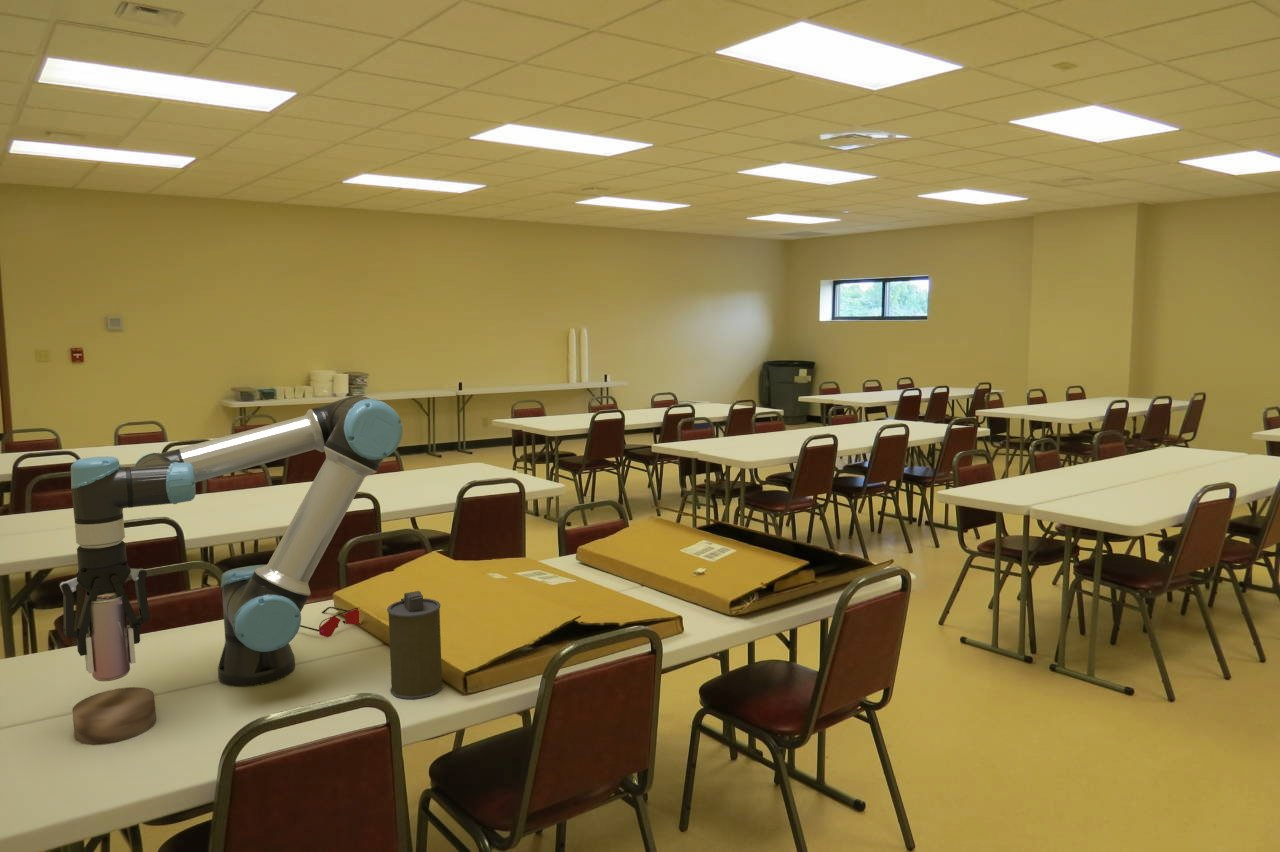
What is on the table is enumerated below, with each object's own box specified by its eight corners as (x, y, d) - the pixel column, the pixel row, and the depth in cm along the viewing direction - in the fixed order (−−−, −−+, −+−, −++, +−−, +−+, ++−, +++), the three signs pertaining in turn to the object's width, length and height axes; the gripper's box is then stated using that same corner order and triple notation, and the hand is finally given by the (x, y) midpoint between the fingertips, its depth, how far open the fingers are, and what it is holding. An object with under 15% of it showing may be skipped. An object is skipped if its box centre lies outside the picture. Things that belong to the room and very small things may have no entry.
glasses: (321, 642, 206) (320, 622, 205) (276, 630, 214) (274, 610, 213) (367, 624, 217) (366, 605, 217) (322, 613, 226) (321, 595, 225)
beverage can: (103, 669, 164) (96, 592, 162) (136, 668, 164) (130, 591, 162) (86, 682, 158) (79, 602, 156) (120, 681, 158) (114, 601, 156)
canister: (450, 692, 177) (446, 596, 174) (398, 703, 171) (394, 605, 169) (433, 673, 186) (430, 582, 184) (384, 684, 181) (380, 590, 178)
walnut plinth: (171, 713, 168) (169, 688, 167) (123, 746, 155) (121, 719, 154) (109, 710, 169) (107, 685, 169) (56, 742, 156) (54, 715, 156)
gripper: (154, 530, 167) (162, 647, 170) (34, 548, 154) (46, 674, 157) (164, 537, 161) (173, 658, 164) (41, 556, 149) (53, 686, 152)
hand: (111, 665), depth 161 cm, fingers closed on beverage can, 6 cm apart
